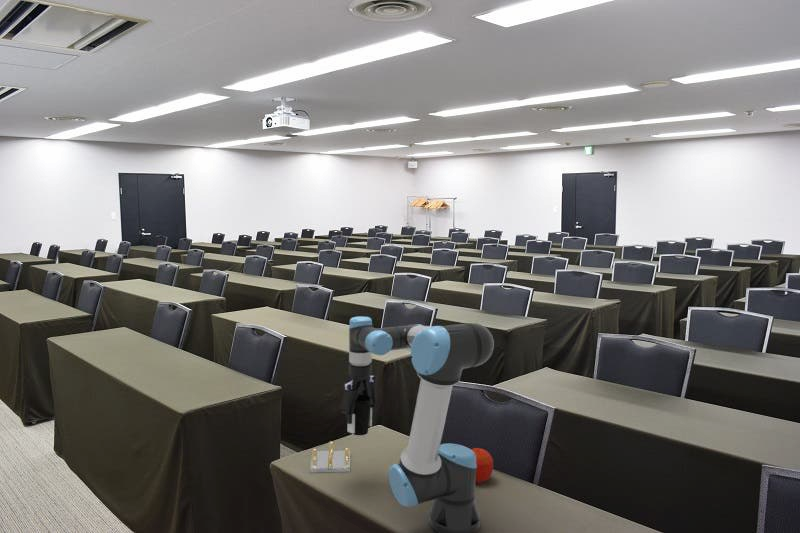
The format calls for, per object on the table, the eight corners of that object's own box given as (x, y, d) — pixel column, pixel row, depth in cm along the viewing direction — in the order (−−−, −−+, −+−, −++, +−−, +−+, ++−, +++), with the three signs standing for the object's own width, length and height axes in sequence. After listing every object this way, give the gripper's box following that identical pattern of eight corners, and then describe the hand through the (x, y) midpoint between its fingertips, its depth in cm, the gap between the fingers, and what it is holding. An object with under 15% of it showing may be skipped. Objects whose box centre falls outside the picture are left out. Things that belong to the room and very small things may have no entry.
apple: (497, 478, 196) (498, 446, 195) (484, 490, 187) (486, 456, 186) (470, 470, 201) (471, 439, 200) (457, 481, 193) (458, 449, 192)
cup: (344, 434, 188) (345, 400, 187) (353, 426, 195) (353, 393, 194) (366, 437, 186) (366, 402, 185) (374, 429, 193) (374, 395, 192)
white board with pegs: (350, 471, 198) (350, 456, 198) (310, 472, 197) (310, 457, 196) (350, 454, 212) (350, 440, 212) (312, 455, 211) (312, 441, 210)
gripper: (372, 355, 198) (372, 417, 201) (330, 367, 183) (329, 434, 185) (388, 359, 194) (388, 423, 196) (346, 371, 178) (346, 440, 180)
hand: (359, 428), depth 190 cm, fingers closed on cup, 8 cm apart
